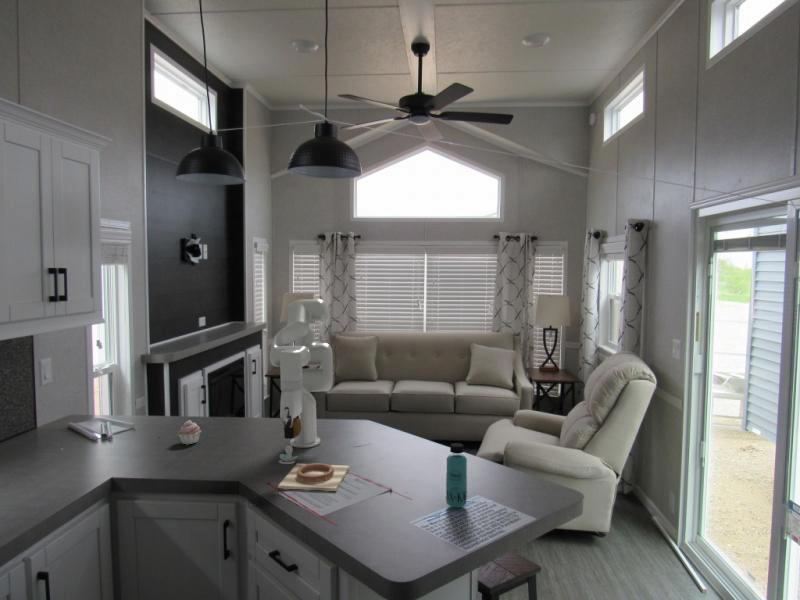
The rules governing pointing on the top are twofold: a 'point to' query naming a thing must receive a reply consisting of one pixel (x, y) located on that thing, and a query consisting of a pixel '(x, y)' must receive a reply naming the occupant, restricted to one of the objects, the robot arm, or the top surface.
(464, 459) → the beverage bottle
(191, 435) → the cupcake
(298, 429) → the fruit
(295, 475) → the ring board
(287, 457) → the pacifier
